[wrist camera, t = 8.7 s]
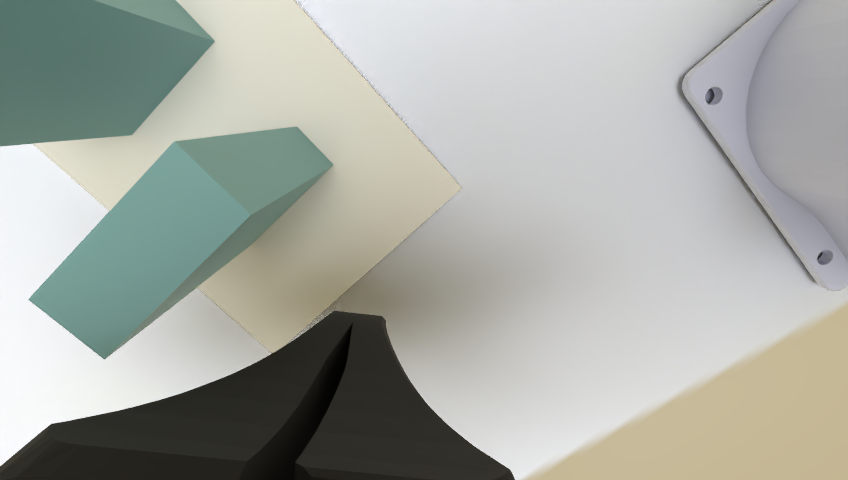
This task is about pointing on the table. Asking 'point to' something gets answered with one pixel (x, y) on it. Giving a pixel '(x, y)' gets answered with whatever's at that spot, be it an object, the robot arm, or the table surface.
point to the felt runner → (272, 109)
